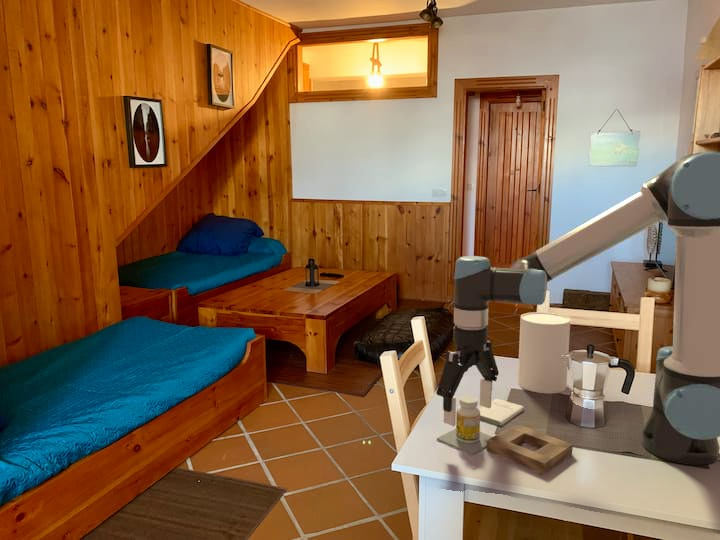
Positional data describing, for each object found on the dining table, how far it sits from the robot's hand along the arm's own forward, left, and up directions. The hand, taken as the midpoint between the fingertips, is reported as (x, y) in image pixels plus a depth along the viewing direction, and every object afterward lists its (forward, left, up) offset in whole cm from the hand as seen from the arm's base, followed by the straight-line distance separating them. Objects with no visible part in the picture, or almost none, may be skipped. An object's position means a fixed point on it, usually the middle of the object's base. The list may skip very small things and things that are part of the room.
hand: (468, 414), depth 130 cm
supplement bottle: (0, 0, -6) cm, 6 cm away
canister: (+6, -44, -7) cm, 45 cm away
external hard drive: (+4, -18, -7) cm, 19 cm away
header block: (-13, -5, -6) cm, 15 cm away
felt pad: (0, 0, -6) cm, 6 cm away
